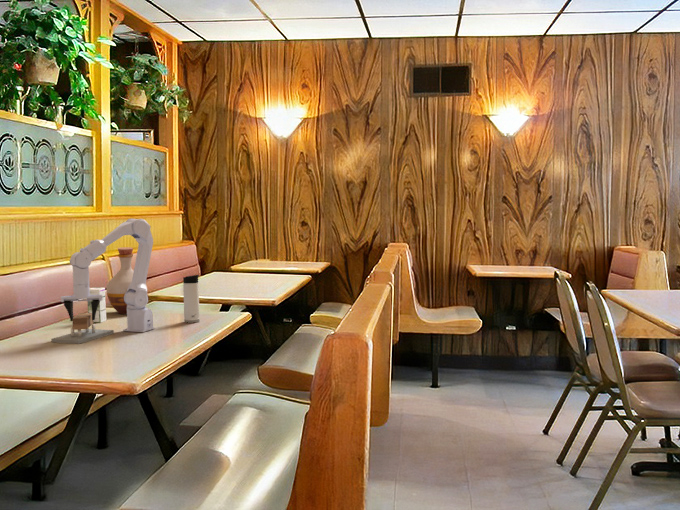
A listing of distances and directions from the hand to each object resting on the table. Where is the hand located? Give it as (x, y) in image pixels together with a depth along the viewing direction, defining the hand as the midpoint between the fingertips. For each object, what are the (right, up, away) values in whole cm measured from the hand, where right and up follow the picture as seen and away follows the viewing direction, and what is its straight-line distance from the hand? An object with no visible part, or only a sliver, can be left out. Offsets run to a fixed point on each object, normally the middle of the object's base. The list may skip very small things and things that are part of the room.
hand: (82, 320), depth 251 cm
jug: (-2, -2, +58) cm, 58 cm away
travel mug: (+34, -4, +31) cm, 47 cm away
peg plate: (0, -7, +1) cm, 7 cm away
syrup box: (-7, -4, +34) cm, 35 cm away
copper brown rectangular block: (0, -2, 0) cm, 2 cm away
